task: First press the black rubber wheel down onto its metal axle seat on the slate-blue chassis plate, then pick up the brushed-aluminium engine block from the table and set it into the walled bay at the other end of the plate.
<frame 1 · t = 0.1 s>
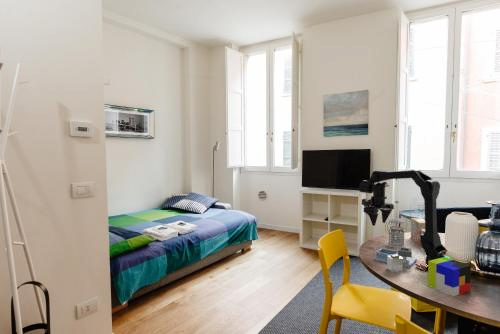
hand: (378, 224, 162), 15 cm above the table, tool pointing down, fingers open, 9 cm apart
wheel: (404, 252, 145), point 6 cm above the table, slide at 0.0 cm
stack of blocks: (423, 243, 175), on the table
french press: (394, 245, 173), on the table
puzzle toy: (448, 288, 121), on the table
engine block: (394, 270, 139), on the table
chassis: (395, 260, 150), on the table
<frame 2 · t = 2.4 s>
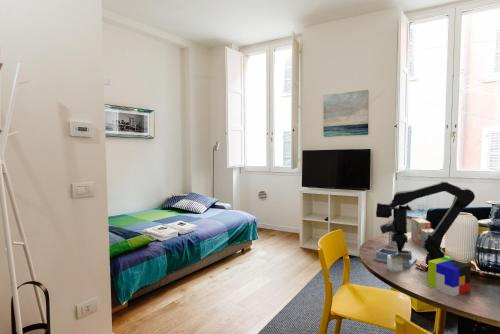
hand: (399, 251, 146), 6 cm above the table, tool pointing down, fingers closed, pressing on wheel
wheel: (404, 254, 145), point 4 cm above the table, slide at 1.3 cm, touching gripper
everything else where it was.
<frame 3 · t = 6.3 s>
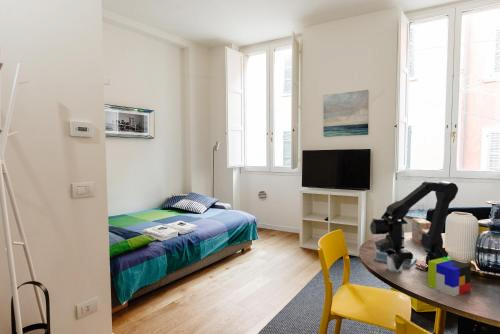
hand: (394, 267, 139), 1 cm above the table, tool pointing down, fingers closed on engine block, 4 cm apart
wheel: (404, 256, 145), point 3 cm above the table, slide at 2.4 cm
engine block: (394, 269, 139), on the table, touching gripper
everything else where it was.
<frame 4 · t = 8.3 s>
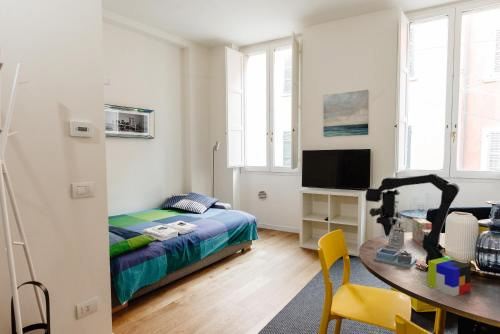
hand: (388, 234, 151), 12 cm above the table, tool pointing down, fingers closed on engine block, 4 cm apart
engine block: (387, 236, 151), point 11 cm above the table, touching gripper
when the fingers open (4 cm above the table, at t = 10.1 s): engine block drops 2 cm, resting on chassis.
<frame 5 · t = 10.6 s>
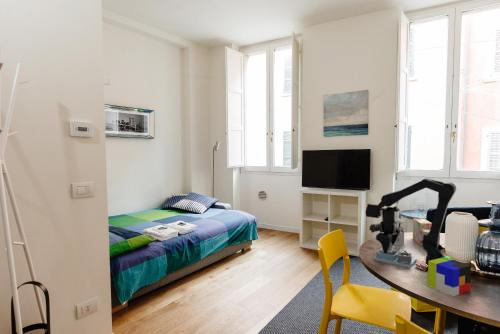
hand: (388, 250, 152), 4 cm above the table, tool pointing down, fingers open, 9 cm apart
engine block: (387, 256, 153), point 1 cm above the table, touching chassis
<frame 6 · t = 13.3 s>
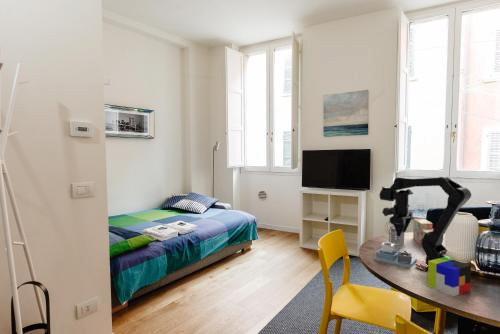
hand: (401, 234, 152), 12 cm above the table, tool pointing down, fingers open, 9 cm apart
at the end: engine block 0.0 cm from the target spot, point 1.2 cm above the table; engine block tilted 0°; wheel slide at 2.4 cm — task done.
